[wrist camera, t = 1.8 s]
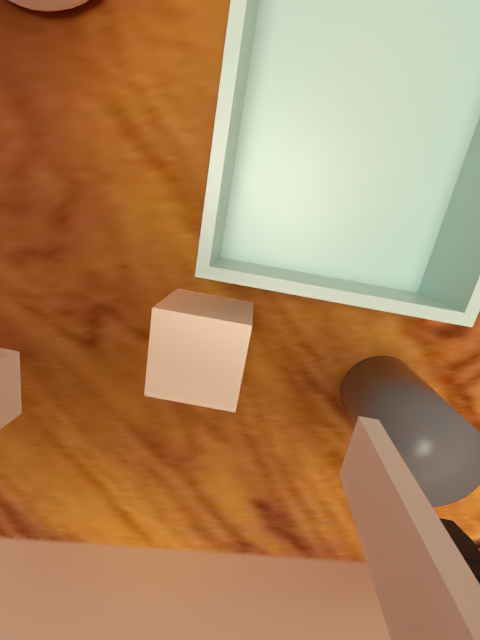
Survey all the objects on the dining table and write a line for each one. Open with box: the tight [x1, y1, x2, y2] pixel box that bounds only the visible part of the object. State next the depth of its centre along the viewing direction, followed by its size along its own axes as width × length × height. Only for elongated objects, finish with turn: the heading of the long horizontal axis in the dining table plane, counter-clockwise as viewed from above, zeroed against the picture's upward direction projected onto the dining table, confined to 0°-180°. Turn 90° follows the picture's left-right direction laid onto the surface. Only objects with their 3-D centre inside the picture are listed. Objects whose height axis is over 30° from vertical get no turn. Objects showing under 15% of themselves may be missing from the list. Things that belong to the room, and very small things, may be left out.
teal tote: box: [195, 0, 480, 327], centre depth 14 cm, size 13×17×5 cm
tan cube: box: [144, 288, 254, 412], centre depth 18 cm, size 5×5×5 cm
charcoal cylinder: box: [341, 356, 480, 507], centre depth 18 cm, size 5×5×7 cm
